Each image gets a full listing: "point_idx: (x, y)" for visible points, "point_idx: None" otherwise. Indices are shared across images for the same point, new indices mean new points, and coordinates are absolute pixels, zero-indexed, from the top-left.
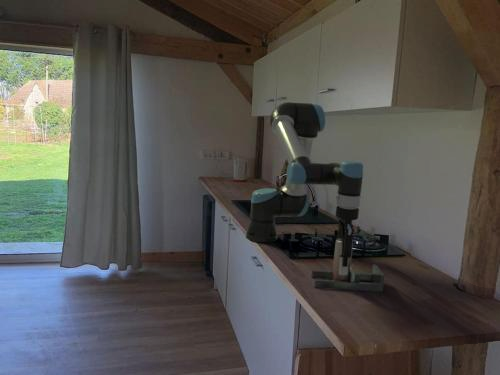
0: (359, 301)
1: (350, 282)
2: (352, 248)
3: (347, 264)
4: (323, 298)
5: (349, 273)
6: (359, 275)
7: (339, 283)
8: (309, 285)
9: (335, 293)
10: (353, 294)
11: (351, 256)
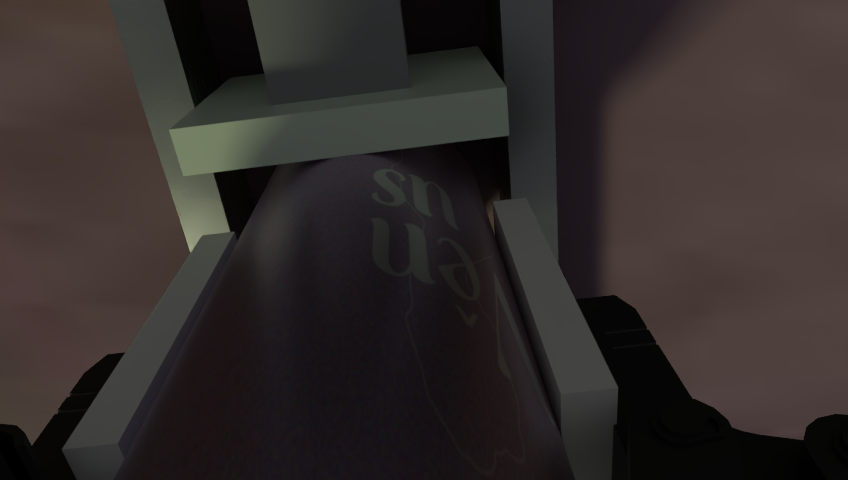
0: (845, 12)
1: (539, 118)
2: (403, 464)
3: (566, 300)
4: (770, 350)
5: (421, 155)
6: None
7: (556, 243)
8: None
9: (652, 250)
10: (658, 63)
11: (425, 301)
